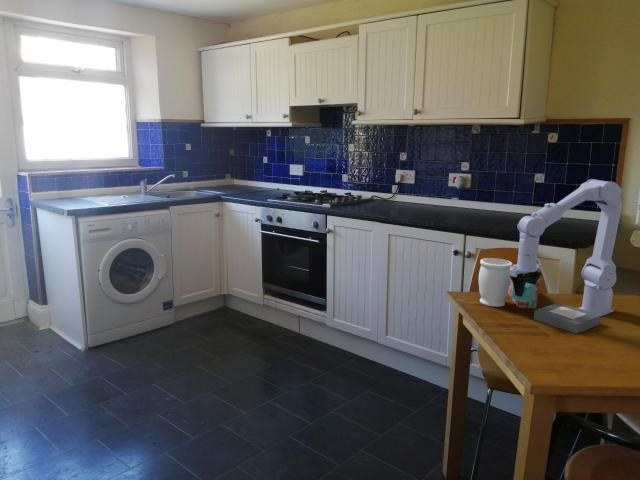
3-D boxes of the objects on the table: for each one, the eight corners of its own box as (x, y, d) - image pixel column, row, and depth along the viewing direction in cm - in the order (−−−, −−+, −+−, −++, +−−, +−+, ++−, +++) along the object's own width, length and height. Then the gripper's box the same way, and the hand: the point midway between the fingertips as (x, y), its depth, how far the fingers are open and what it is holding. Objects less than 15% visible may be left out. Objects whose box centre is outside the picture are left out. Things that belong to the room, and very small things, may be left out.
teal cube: (520, 295, 168) (522, 281, 166) (534, 300, 164) (536, 285, 163) (511, 298, 165) (513, 283, 164) (525, 302, 161) (527, 287, 160)
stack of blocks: (504, 289, 192) (507, 257, 189) (521, 290, 191) (524, 258, 188) (517, 308, 171) (521, 273, 168) (536, 309, 170) (540, 274, 168)
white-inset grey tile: (557, 310, 169) (558, 302, 168) (600, 324, 158) (601, 314, 157) (533, 319, 161) (534, 310, 160) (576, 333, 150) (578, 324, 149)
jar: (470, 299, 179) (474, 258, 176) (496, 297, 182) (500, 257, 178) (487, 309, 169) (491, 266, 166) (514, 307, 172) (518, 264, 168)
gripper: (529, 248, 168) (525, 287, 171) (503, 254, 160) (499, 294, 163) (549, 252, 163) (544, 293, 165) (523, 259, 154) (518, 301, 157)
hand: (523, 294), depth 164 cm, fingers closed on teal cube, 5 cm apart
